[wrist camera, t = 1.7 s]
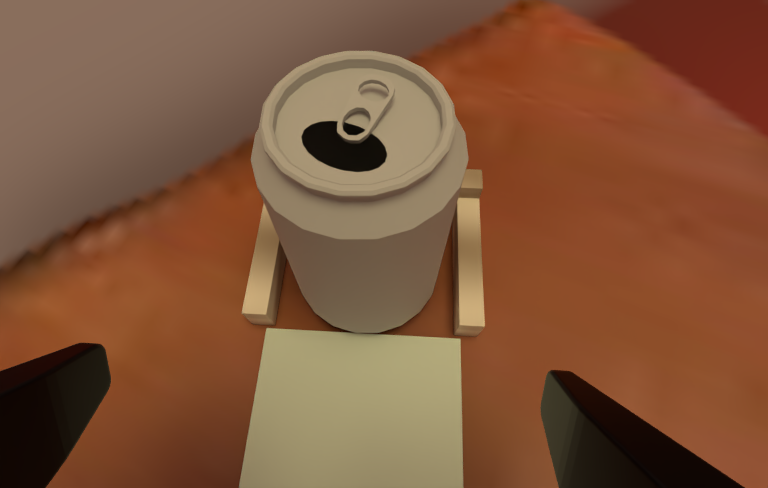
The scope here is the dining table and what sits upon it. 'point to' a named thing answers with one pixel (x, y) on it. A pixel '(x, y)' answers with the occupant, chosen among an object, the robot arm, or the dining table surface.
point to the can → (361, 183)
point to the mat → (355, 412)
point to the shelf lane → (466, 265)
